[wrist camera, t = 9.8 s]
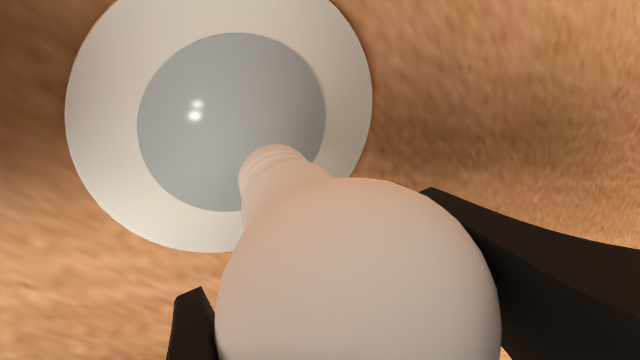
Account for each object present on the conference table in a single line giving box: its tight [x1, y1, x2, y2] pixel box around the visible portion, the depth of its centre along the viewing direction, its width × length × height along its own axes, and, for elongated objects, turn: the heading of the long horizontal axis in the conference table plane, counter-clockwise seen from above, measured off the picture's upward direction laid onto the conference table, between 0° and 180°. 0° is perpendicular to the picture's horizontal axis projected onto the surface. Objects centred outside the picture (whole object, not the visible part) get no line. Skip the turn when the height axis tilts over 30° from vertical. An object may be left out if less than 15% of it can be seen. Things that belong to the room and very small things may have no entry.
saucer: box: [64, 0, 372, 253], centre depth 20 cm, size 13×13×1 cm
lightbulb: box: [215, 144, 502, 360], centre depth 12 cm, size 6×6×11 cm
